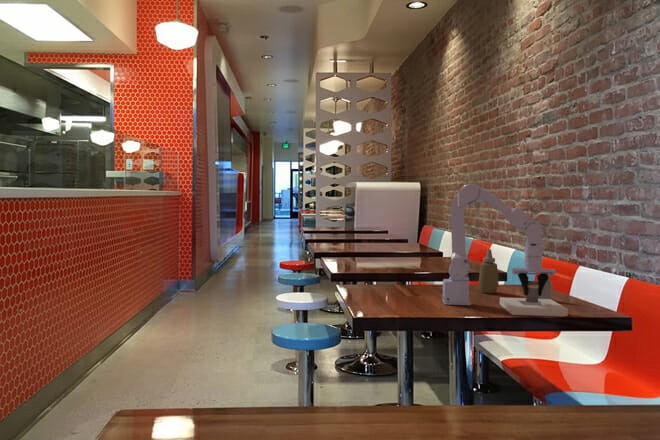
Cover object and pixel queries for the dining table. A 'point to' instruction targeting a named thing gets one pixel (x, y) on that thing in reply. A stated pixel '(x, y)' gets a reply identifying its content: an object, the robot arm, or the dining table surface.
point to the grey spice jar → (532, 291)
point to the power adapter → (546, 290)
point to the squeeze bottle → (488, 274)
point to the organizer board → (533, 307)
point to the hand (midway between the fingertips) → (532, 295)
